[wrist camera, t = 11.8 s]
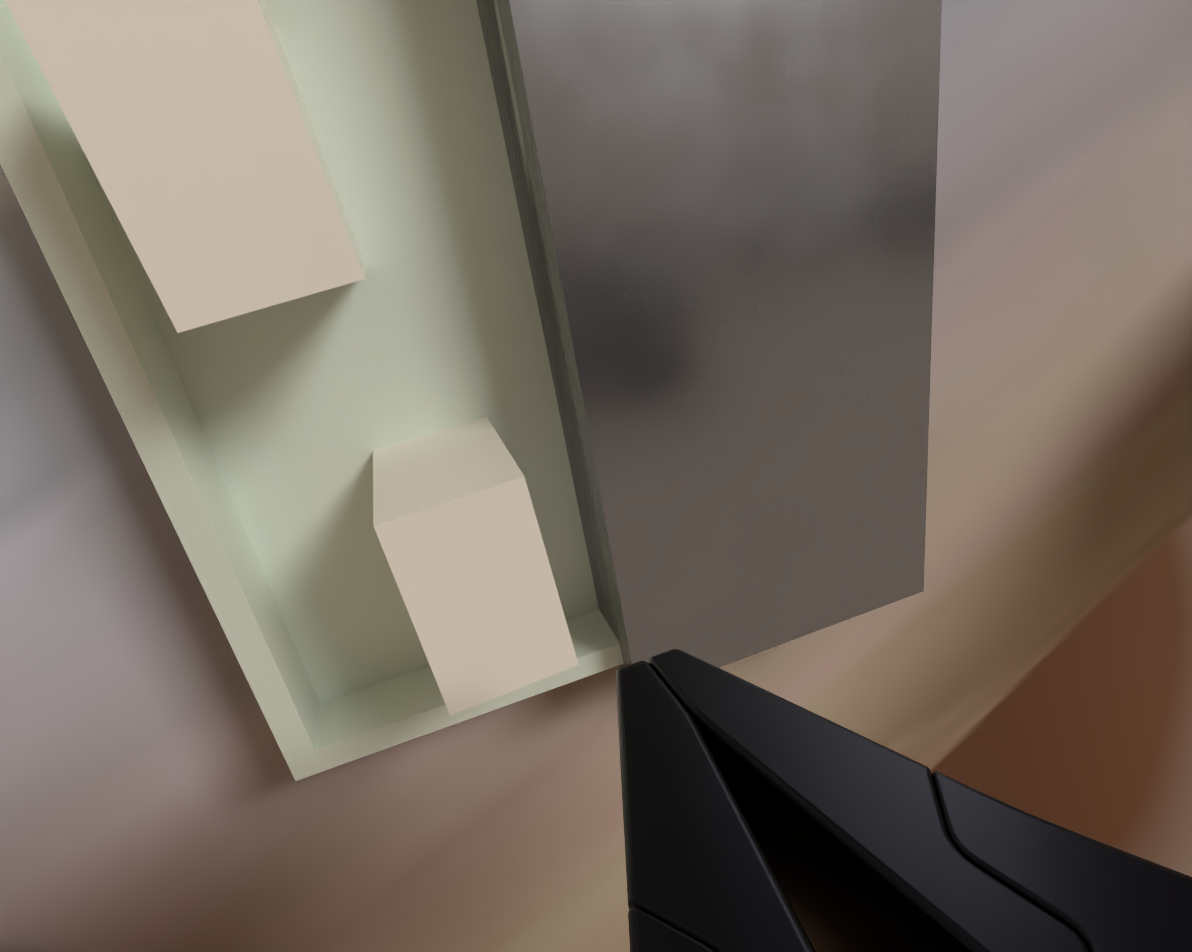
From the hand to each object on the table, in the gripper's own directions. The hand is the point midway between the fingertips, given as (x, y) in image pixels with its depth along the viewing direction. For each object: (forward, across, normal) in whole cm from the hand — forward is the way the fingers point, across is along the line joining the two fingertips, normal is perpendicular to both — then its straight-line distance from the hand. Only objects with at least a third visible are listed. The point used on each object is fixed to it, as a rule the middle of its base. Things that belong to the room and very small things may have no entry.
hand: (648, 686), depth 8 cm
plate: (+8, -5, -4) cm, 11 cm away
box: (+8, +2, -4) cm, 9 cm away
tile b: (+6, 0, 0) cm, 6 cm away
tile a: (+6, +2, -7) cm, 9 cm away
